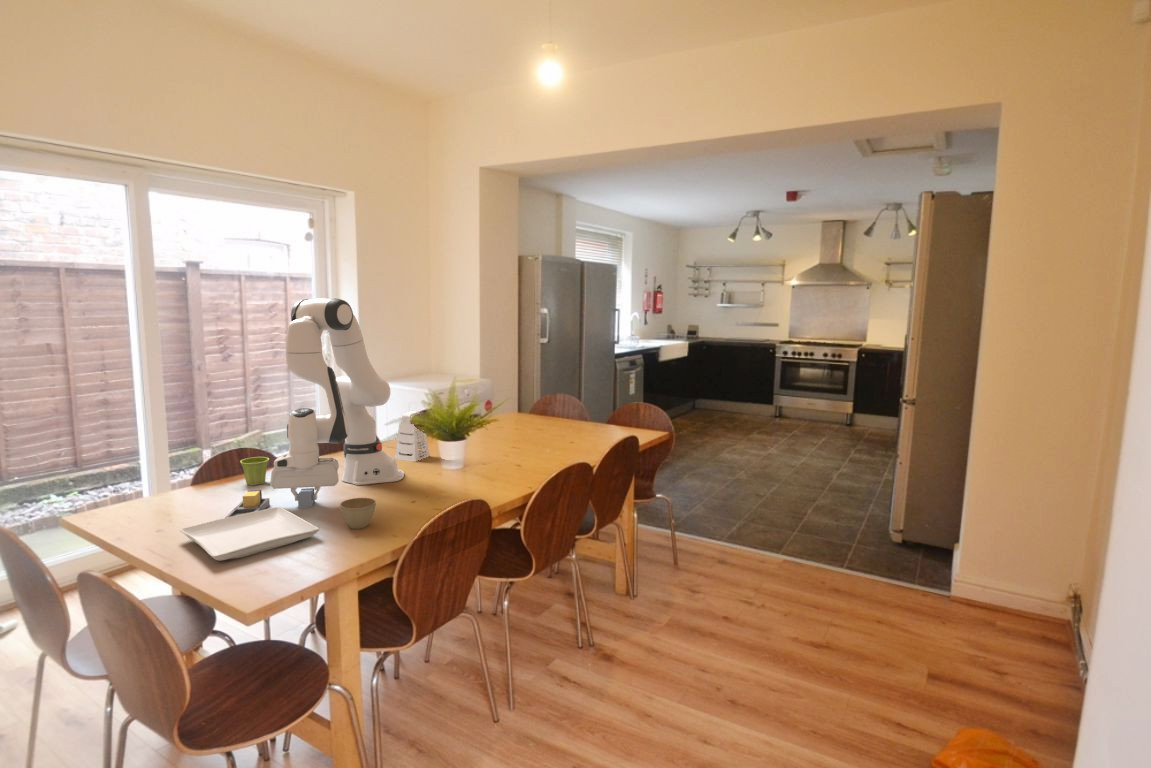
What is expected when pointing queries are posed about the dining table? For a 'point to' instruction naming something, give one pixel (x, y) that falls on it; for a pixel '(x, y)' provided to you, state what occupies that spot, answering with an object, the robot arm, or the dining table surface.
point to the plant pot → (255, 469)
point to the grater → (410, 440)
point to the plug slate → (305, 498)
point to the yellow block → (252, 498)
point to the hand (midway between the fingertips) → (306, 499)
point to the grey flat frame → (248, 508)
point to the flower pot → (358, 511)
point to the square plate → (249, 533)
